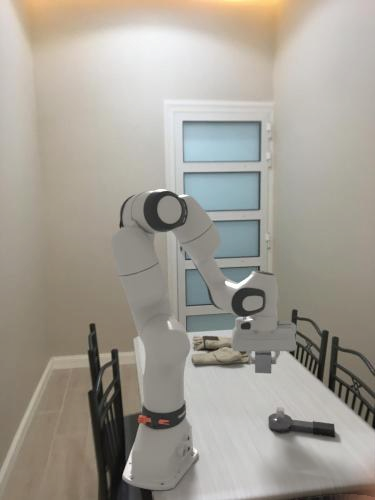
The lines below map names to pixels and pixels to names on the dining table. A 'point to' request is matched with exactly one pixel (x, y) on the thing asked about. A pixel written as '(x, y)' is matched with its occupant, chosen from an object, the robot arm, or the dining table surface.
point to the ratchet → (298, 425)
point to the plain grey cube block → (263, 362)
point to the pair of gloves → (217, 351)
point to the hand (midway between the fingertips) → (262, 363)
